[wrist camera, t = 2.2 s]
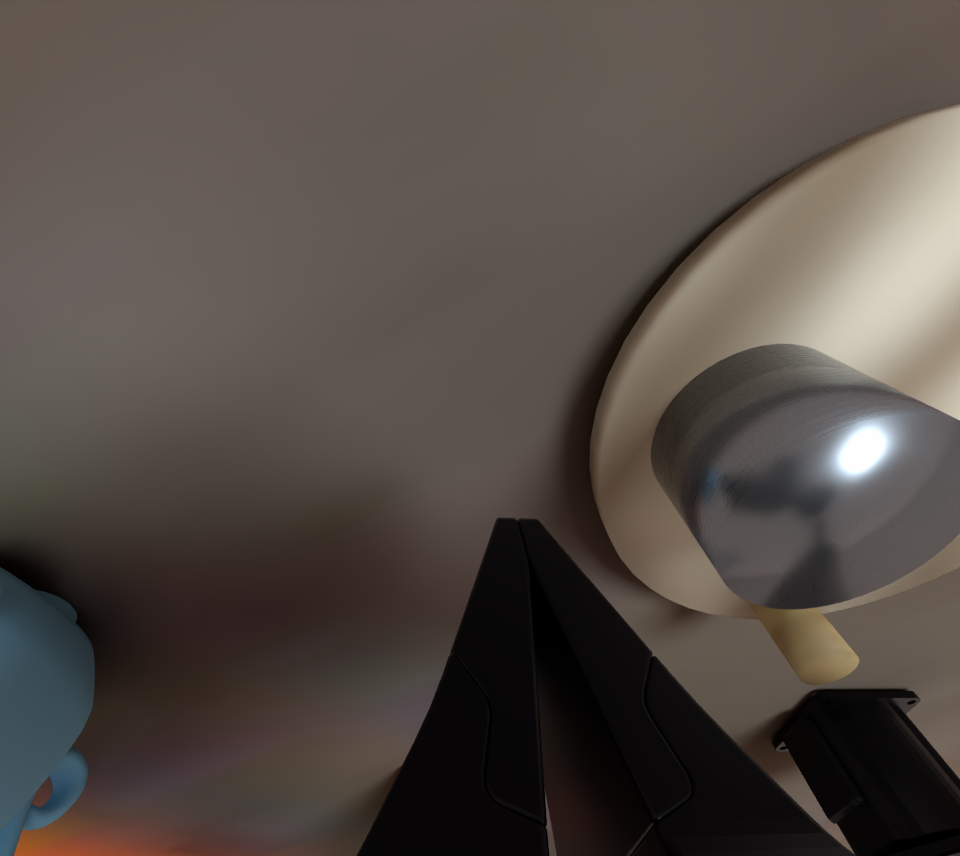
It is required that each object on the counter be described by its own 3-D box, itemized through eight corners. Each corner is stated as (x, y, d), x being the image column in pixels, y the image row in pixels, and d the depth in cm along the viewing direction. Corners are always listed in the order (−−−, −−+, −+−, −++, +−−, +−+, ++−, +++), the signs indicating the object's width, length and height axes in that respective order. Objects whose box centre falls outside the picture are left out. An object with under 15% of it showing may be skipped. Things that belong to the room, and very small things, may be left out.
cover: (889, 351, 12) (1060, 422, 9) (790, 511, 15) (889, 611, 12) (688, 335, 12) (787, 404, 8) (628, 505, 15) (681, 607, 11)
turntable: (1348, 145, 11) (1776, 132, 8) (920, 599, 20) (1021, 691, 17) (692, 48, 9) (839, -27, 6) (547, 591, 19) (570, 693, 15)
